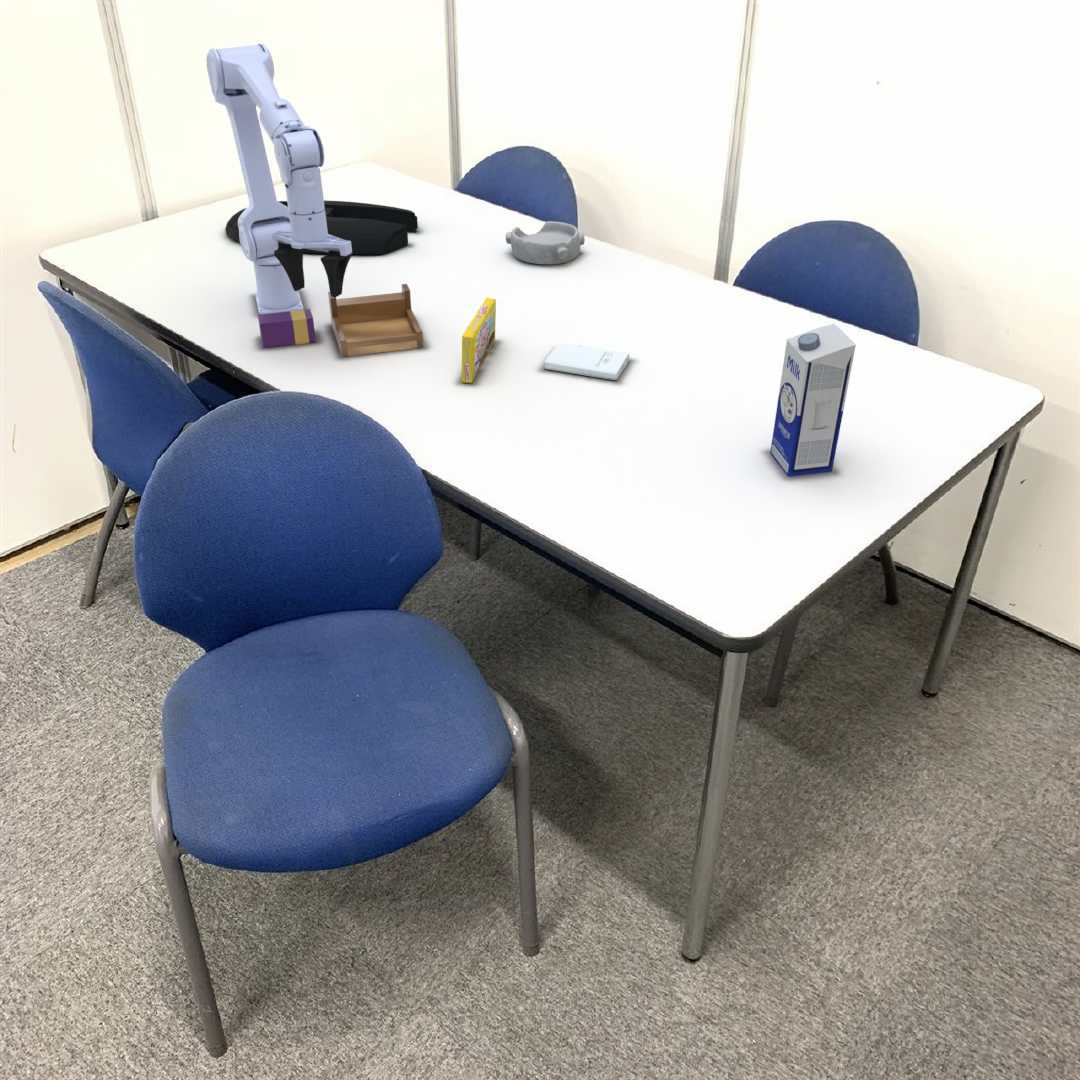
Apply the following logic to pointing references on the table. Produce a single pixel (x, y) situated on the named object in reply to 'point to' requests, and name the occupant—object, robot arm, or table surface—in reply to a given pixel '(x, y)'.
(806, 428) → the milk carton
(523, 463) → the table surface
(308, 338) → the chocolate bar
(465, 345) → the candy box
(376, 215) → the docking station
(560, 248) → the dish
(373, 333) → the tray
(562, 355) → the hard drive
